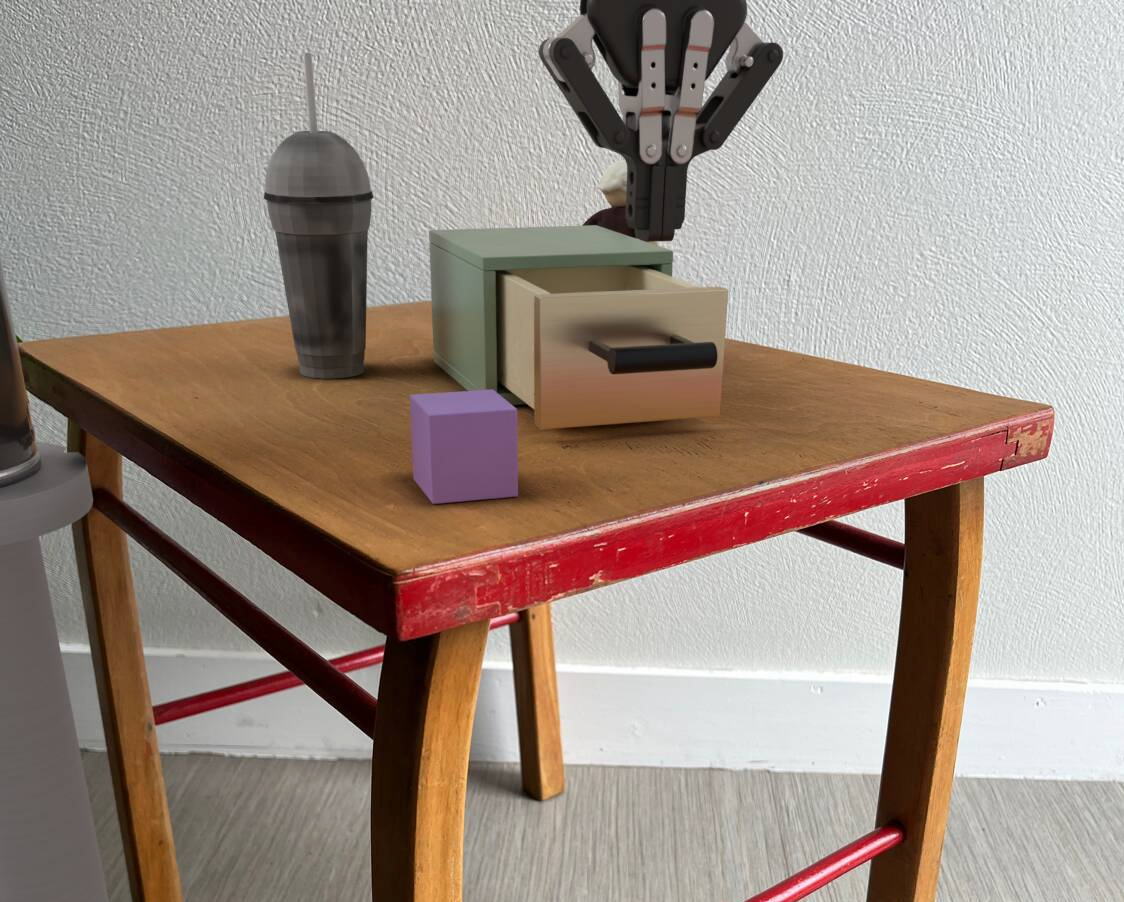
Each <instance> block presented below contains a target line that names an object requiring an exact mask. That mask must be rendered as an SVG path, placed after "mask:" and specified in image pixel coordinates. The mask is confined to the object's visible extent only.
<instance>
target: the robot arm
mask: <svg viewBox="0 0 1124 902" xmlns="http://www.w3.org/2000/svg"><path fill="white" fill-rule="evenodd" d="M579 13H580V14H579V16H578V17H577V18H575V19H574V20H573V21H571V23H570V24H568V26H566V27H565V28H564V29H563V30H562V31H561V32H560V33H559V34H558V35H556V36H555V37H551V38H550V37H549V38H546V39H544V40H543V41H542V42H540V45H539V47H538V56H539V59H540V61H541V63H542V64H543V65H544V67H545V69H546V70H547V72H548V73H549V75H550V76H551V78H552V80H553V81H554V82H555V84H556V86H557V87H558V89H559V90H560V92H561V93H562V95H563V97H564V98H565V100H566V101H567V103H568V105H569V106H570V107H571V109H572V111H573V112H574V113H575V116H576V117H577V119H578V120H579V121H580V123H581V125H582V126H583V128H584V130H585V131H586V132H587V134H588V136H589V137H590V139H591V140H592V142H593V143H594V145H595V146H596V147H598V148H602V149H607V150H609V151H612V152H614V153H616V154H619V156H621V157H622V158H623V159H624V161H626V163H627V190H626V196H627V197H626V220H627V223H628V226H629V227H631V228H634V229H635V236H636V238H637V239H639V240H642V241H645V242H654V241H657V242H672V241H673V240H674V239H675V231H676V230H681V229H682V227H683V224H684V222H685V218H686V217H685V216H686V198H687V186H688V185H687V183H688V182H687V181H688V169H689V165H690V163H691V162H692V161H693V159H695V157H697V156H699V155H702V154H704V153H706V152H709V151H716V150H718V149H720V148H722V146H723V145H724V143H725V142H726V141H727V140H728V138H729V136H731V134H732V132H733V131H734V130H735V128H736V127H737V125H738V124H739V122H740V121H741V120H742V118H743V117H744V116H745V114H746V113H747V111H748V110H749V109H750V107H751V106H752V104H753V103H754V102H755V100H756V99H757V97H758V96H759V95H760V94H761V93H762V90H763V89H764V88H765V86H766V85H767V84H768V82H769V80H770V79H771V78H772V76H773V75H774V74H775V72H776V71H777V69H778V68H779V67H780V65H781V64H782V62H783V59H784V51H783V47H782V46H781V45H780V44H779V43H778V42H775V41H774V42H772V41H771V42H767V41H766V40H765V39H764V38H763V37H762V36H761V34H759V32H757V30H756V29H755V28H754V27H753V26H752V25H751V24H750V22H749V21H747V15H748V2H747V0H580V2H579ZM593 42H594V44H595V46H596V48H597V50H598V51H599V53H600V55H601V56H602V58H603V60H604V62H605V64H606V66H607V68H608V69H609V71H610V73H611V74H612V76H613V77H614V78H615V80H616V81H617V83H618V84H617V86H618V87H617V88H618V106H619V110H620V112H621V115H622V117H621V116H620V113H619V112H618V110H617V109H616V107H615V106H614V104H613V103H612V101H611V99H610V98H609V96H608V95H607V93H606V91H605V89H604V88H603V87H602V85H601V83H600V82H599V80H598V78H597V77H596V75H595V74H594V72H593V70H592V69H593V68H594V67H595V64H596V58H597V57H596V53H595V50H594V48H593ZM728 49H729V50H728ZM727 51H728V52H727ZM726 52H727V55H726V56H725V62H724V63H725V64H724V65H725V69H726V72H725V74H724V76H723V77H722V78H721V79H720V81H719V82H718V84H717V85H716V86H715V88H714V89H713V90H712V91H711V94H710V95H709V96H708V98H707V99H706V101H705V102H704V101H703V100H704V92H705V83H706V81H707V80H708V79H709V77H710V76H711V75H712V73H713V72H714V70H715V69H716V67H717V66H718V64H719V63H720V61H721V60H722V58H723V56H724V55H725V54H726ZM703 102H704V103H703ZM1 254H2V253H0V487H4V486H8V485H11V484H13V483H16V482H19V481H22V480H24V479H26V478H28V477H30V476H32V475H34V474H35V473H36V472H38V471H39V470H40V468H41V459H40V453H39V449H38V447H37V446H36V442H37V441H36V433H35V427H34V425H33V421H32V415H31V411H30V405H29V399H28V395H27V394H28V393H27V389H26V388H27V387H26V384H25V378H24V377H25V376H24V372H23V368H22V362H21V356H20V351H19V346H18V340H17V333H16V329H15V324H14V319H13V313H12V309H11V303H10V298H9V292H8V287H7V286H8V285H7V282H6V276H5V271H4V265H3V260H2V256H1Z"/></svg>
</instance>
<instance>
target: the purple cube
mask: <svg viewBox="0 0 1124 902" xmlns="http://www.w3.org/2000/svg"><path fill="white" fill-rule="evenodd" d="M409 411H410V413H409V414H410V433H411V435H410V436H411V455H412V476H413V481H414V482H415V483H416V484H417V486H418V487H419V488H420V489H421V491H422V492H423V494H424V495H425V496H426V497H427V498H428V500H429V501H430V502H431V503H432V504H433V505H439V504H452V503H461V502H462V503H463V502H472V501H483V500H484V501H485V500H494V499H505V498H516V497H518V496H519V463H518V462H519V460H518V459H519V457H518V456H519V454H518V453H519V452H518V450H519V449H518V446H519V445H518V409H517V407H515V405H511V404H510V403H509V402H508V401H506V400H505V399H504V398H503V397H502V396H500V395H499V394H498V393H497V392H495V391H494V390H492V389H491V390H476V391H467V390H463V391H449V392H447V391H446V392H432V393H431V392H430V393H416V394H410V395H409Z"/></svg>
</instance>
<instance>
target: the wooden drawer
mask: <svg viewBox="0 0 1124 902" xmlns="http://www.w3.org/2000/svg"><path fill="white" fill-rule="evenodd" d="M495 276H496V342H497V381H498V382H500V383H501V384H502V385H503V386H505V387H506V388H507V389H509V390H510V391H511V392H512V393H514V394H515V395H516V396H517V397H519V398H520V399H521V400H523V401H524V402H525V403H526V404H525V405H528V407H530V408H531V409H532V410H533V414H534V415H533V416H534V417H533V424H534V426H535V427H537V428H538V429H539V430H540V431H542V430H555V429H566V428H567V429H568V428H580V427H581V428H582V427H593V426H595V427H596V426H605V425H607V426H609V425H620V424H633V423H646V422H661V421H674V420H687V419H701V418H715V417H720V416H721V409H722V408H721V406H722V392H723V378H724V362H725V361H724V360H725V345H726V333H727V332H726V331H727V317H728V315H727V314H728V304H729V303H728V300H729V289H728V288H726V287H723V286H719V285H718V286H698V285H695V284H693V283H690V282H688V281H687V282H686V281H684V280H682V279H679V278H676V277H674V276H672V277H671V276H669V275H666V274H663V273H661V272H658V271H655V270H653V269H650V268H647V267H645V266H642V265H628V266H602V267H576V268H550V269H523V270H497V271H495Z"/></svg>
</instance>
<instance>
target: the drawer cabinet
mask: <svg viewBox="0 0 1124 902" xmlns="http://www.w3.org/2000/svg"><path fill="white" fill-rule="evenodd" d="M428 241H429V267H430V268H429V270H430V296H431V321H432V326H431V327H432V347H433V349H432V351H433V362H434V363H435V364H436V365H437V366H438V367H439V368H441V369H442V370H443V371H444V372H445V373H446V374H447V375H448V376H450V377H451V378H452V379H453V380H455V382H457V384H459V385H460V386H461V387H463V389H464V390H465V391H476V390H491V389H492V390H494V391H495V392H497V393H498V394H499V395H500V396H502V397H503V398H504V399H505V400H506V401H508V402H509V403H510V404H511V405H513V406H522V405H527V404H526V403H525V402H524V401H523V400H521V399H520V398H519V397H517V396H516V395H515V394H514V393H512V392H511V391H510V390H509V389H507V388H506V387H505V386H503V385H502V384H501V383H500V382H498V381H497V342H496V276H495V271H497V270H523V269H550V268H576V267H602V266H628V265H642V266H645V267H647V268H650V269H653V270H655V271H658V272H661V273H663V274H666V275H669V276H671V277H673V268H674V267H673V264H674V250H672V249H668V248H665V247H663V246H659V245H658V246H657V245H654V244H651V243H648V242H645V241H642V240H639V239H636V238H633V237H630V236H627V235H624V234H621V233H618V232H615V231H612V230H609V229H606V228H603V227H600V226H597V225H590V226H582V225H562V226H561V225H560V226H527V227H492V228H487V227H486V228H457V229H454V228H453V229H429V230H428Z"/></svg>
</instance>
